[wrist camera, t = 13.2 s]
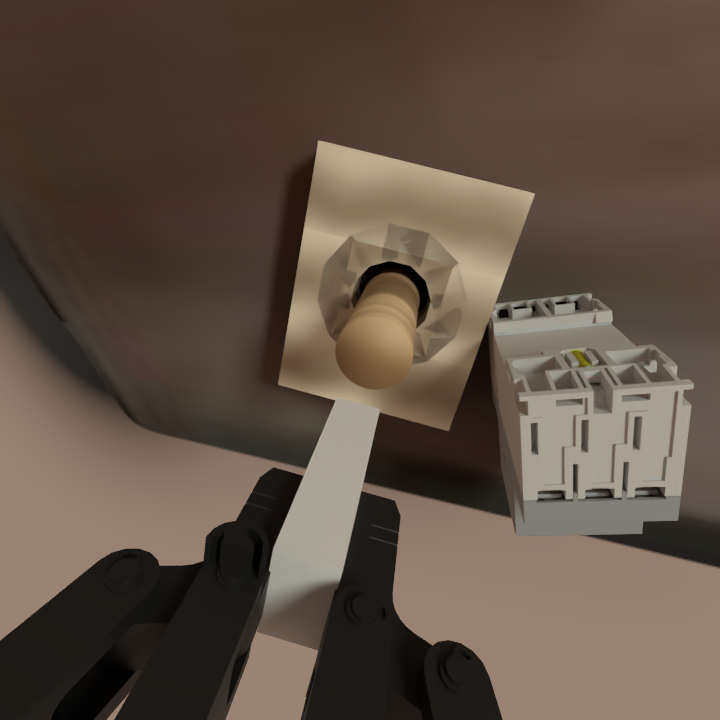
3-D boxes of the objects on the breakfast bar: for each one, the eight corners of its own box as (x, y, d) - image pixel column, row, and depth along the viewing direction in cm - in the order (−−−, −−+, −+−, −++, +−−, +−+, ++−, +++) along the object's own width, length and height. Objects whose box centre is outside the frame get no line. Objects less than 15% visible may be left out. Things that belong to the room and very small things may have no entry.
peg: (375, 255, 35) (343, 306, 23) (427, 268, 35) (423, 328, 22) (363, 305, 37) (327, 378, 24) (413, 317, 37) (402, 399, 24)
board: (331, 143, 33) (318, 140, 29) (523, 190, 32) (535, 193, 28) (292, 364, 40) (277, 384, 36) (447, 406, 39) (448, 431, 36)
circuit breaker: (496, 458, 41) (527, 605, 27) (486, 304, 36) (519, 392, 22) (586, 453, 39) (667, 607, 26) (590, 292, 34) (694, 378, 20)
